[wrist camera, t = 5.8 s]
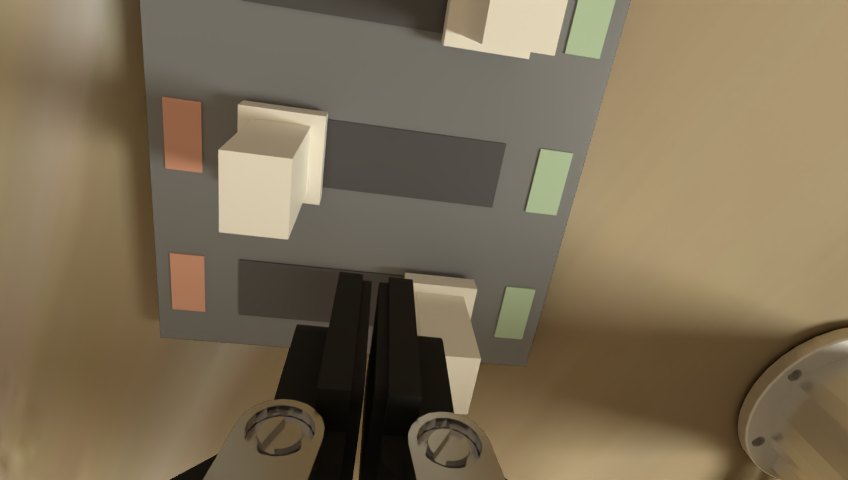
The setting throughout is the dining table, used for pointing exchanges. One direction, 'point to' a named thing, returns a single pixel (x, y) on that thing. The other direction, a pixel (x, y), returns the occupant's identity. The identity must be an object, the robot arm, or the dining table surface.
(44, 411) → the dining table surface
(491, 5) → the breaker near
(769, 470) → the robot arm
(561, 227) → the console
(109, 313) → the dining table surface
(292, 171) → the breaker mid
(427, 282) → the breaker far
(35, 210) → the dining table surface
